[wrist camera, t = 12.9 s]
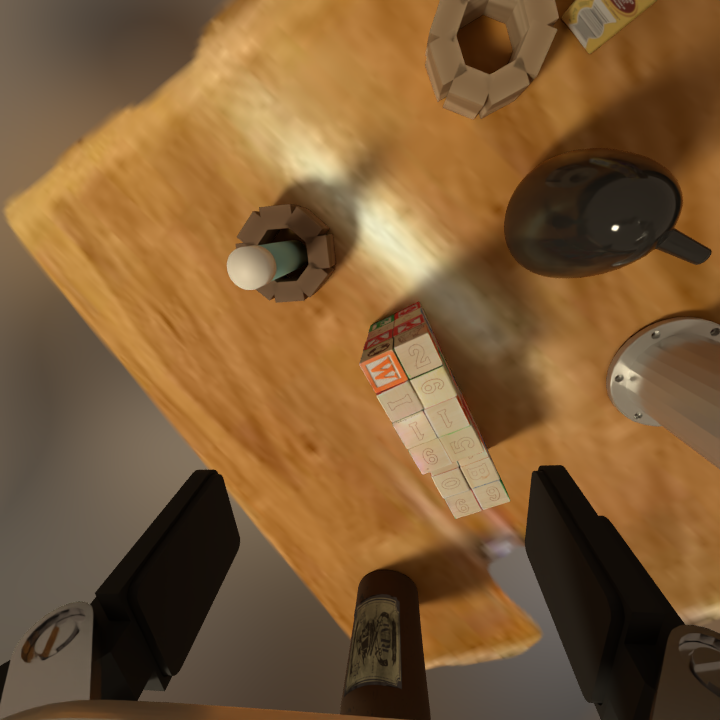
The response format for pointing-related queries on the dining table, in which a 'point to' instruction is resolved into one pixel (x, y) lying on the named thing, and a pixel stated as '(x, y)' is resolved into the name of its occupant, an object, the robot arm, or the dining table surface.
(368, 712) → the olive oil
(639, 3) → the candy box
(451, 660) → the dining table surface
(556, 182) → the black tapered dome
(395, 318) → the stack of blocks
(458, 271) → the dining table surface
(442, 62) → the bead
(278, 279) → the bead
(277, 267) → the teal cylinder white end
